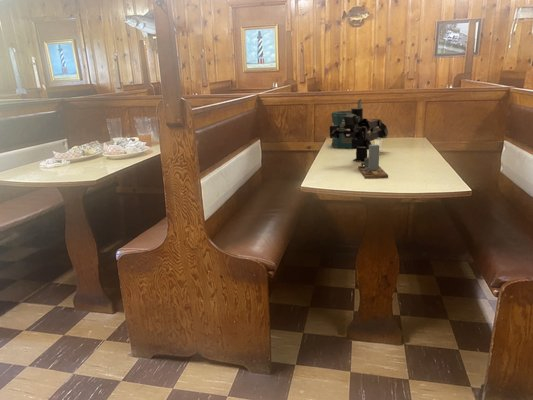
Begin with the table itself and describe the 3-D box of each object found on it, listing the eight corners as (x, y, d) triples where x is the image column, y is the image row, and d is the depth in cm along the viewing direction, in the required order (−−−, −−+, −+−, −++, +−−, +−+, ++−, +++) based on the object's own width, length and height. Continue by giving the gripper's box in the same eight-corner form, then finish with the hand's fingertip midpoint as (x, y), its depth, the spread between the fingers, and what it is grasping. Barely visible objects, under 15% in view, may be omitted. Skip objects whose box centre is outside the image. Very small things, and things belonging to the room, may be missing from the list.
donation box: (357, 149, 258) (358, 101, 250) (330, 148, 263) (330, 101, 255) (360, 144, 272) (361, 98, 264) (334, 144, 277) (334, 99, 269)
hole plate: (357, 168, 209) (358, 158, 207) (378, 168, 208) (379, 157, 207) (365, 178, 190) (365, 167, 189) (388, 177, 190) (388, 166, 188)
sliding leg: (364, 170, 198) (365, 144, 195) (377, 169, 198) (378, 144, 195) (365, 171, 195) (366, 146, 192) (378, 171, 195) (379, 145, 192)
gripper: (337, 113, 217) (322, 117, 205) (372, 113, 206) (359, 119, 195) (337, 135, 221) (322, 141, 209) (372, 137, 210) (359, 143, 198)
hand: (340, 135), depth 202 cm, fingers open, 9 cm apart
